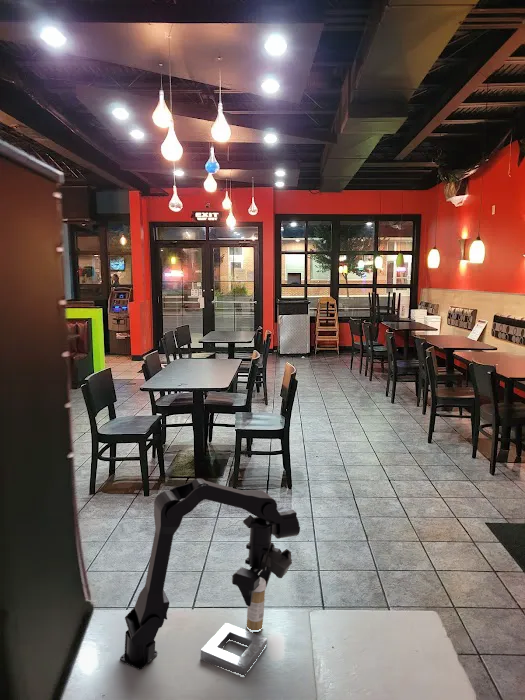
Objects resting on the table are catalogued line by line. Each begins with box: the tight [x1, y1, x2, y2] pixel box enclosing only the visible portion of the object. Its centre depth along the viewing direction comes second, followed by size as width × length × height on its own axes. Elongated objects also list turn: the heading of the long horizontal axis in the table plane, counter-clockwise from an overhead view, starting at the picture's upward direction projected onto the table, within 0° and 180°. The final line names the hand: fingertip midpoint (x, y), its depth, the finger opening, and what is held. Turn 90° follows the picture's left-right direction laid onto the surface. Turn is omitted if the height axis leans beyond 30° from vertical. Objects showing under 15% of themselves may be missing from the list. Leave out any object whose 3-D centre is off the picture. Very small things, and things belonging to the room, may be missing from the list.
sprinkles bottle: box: [246, 577, 267, 630], centre depth 131 cm, size 5×5×13 cm
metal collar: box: [200, 622, 268, 676], centre depth 122 cm, size 12×12×2 cm
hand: (256, 596), depth 131 cm, fingers open, 9 cm apart
